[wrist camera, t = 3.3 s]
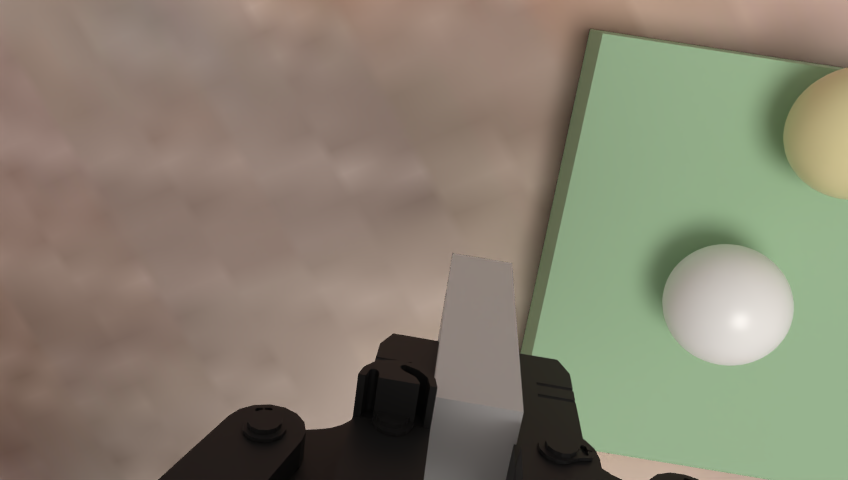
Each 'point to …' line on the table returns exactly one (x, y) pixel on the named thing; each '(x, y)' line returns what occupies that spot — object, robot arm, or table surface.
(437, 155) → the table surface
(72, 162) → the table surface
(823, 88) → the yellow ball
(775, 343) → the ball
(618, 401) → the green
